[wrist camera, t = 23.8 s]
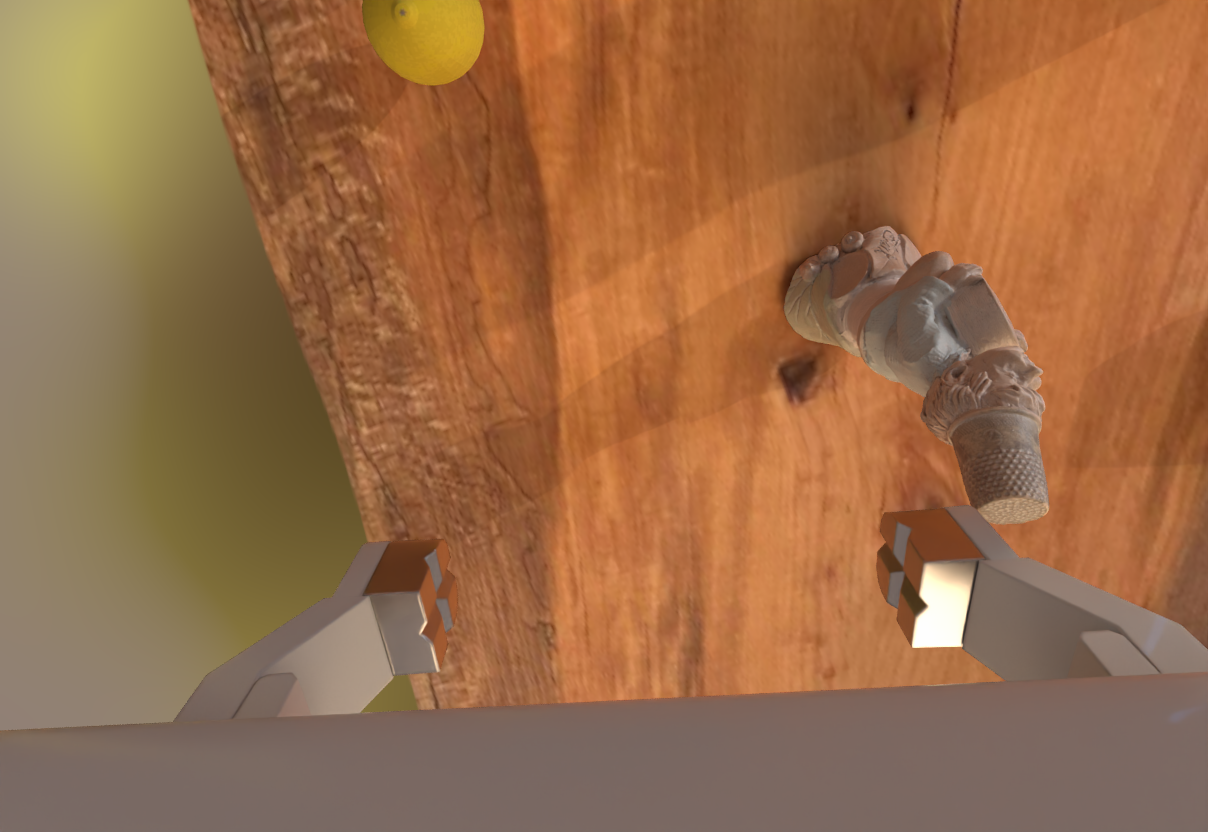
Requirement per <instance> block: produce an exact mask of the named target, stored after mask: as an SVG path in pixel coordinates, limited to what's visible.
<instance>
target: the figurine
mask: <svg viewBox="0 0 1208 832" xmlns="http://www.w3.org/2000/svg"><path fill="white" fill-rule="evenodd" d="M982 272H983V269H982V268H981V267H980V266H977V265H975V264H965V263H960V264H957V265H954V263H953V260H952V258H951V256H950V254H949V253H946V252H942V251H935V252H931V253H929V254H926V255H924V256H923V257H921V255H920V253H919V251H918V250H917V248H916V247H915V246H914V244H913V243H912V242H911V241H910V240H909V239H908V237H906V236H905V235H903V234H899V235H897V233H896V232H895V231H894V230H893V229H892V228H891V227H890V226H883V227H879V228H876V229H875V230H872V231H868V232H866V233H864V234H861V233H860V232H856V231H852V232H849V233H847V234H845V235H844V237H843V239H842V241H841V243H839V244H837V245H835V246H831V245H830V246H826V247H825V248H823V249H822V250H821V251H820V252H819V255H815V256H812V257H809V258H807V260H806V261H805V262H804V263H803V264H801V265H800V266H799V268H798V269H797V270H796V272H795V274H794V276H793V278H792V281H791V283H790V287H789V288H788V292H787V294H786V297H785V305H784V312H785V315H786V318H787V321H788V322H789V324H790V325H791V326H792V328H793V329H794V331H796V332H797V333H798V334H801V335H802V337H804V338H806V339H807V340H811V341H815V342H819V343H821V342H822V343H824V344H831V345H837V346H839V347H841V348H843V349H845V350H846V351H847V352H849V353H851V354H852V355H854V356H857V357H862V359H863V360H864V362H865V363H866V364H867V365H868V366H869V367H870V368H871V369H872V370H873V371H875V372H876V373H878V374H880V375H882V376H885V377H886V379H888V380H890V381H894V382H901V383H902V384H904V385H905V386H906V387H907V388H909V389H910V390H912V391H914V392H916V393H918V394H920V395H922V396H923V397H925V399H924V401H923V409H922V412H921V415H920V417H921V419H922V421H923V422H925V423H926V425H927V427H928V428H929V430H930V431H931V432H933V433H934V434H935V436H936V437H937V438H939V440H940V441H944V443H946V444H948V445H952V446H953V447H954V450H955V453H956V456H957V459H958V463H959V467H960V470H961V474H962V478H963V482H964V485H965V489H966V492H967V495H968V497H969V501H970V504H971V506H972V507H974V508H975V509H976V510H977V511H978V512H979V513H980V514H981V515H982V516H983V518H984V519H985V520H986V521H987V522H988V523H994V524H1003V525H1005V524H1018V523H1025V522H1027V521H1033V520H1037V519H1039V518H1041V517H1043V516H1044V515H1045V514H1046V513H1047V512H1048V510H1049V498H1048V488H1047V482H1046V478H1045V472H1044V468H1043V462H1042V458H1041V452H1040V446H1039V437H1038V434H1039V433H1040V431H1041V427H1042V424H1041V422H1042V419H1041V415H1042V413H1043V412H1044V410H1045V403H1044V401H1043V398H1042V397H1041V396H1040V395H1039V394H1038V393H1037V392H1036V390H1037V389H1038V388H1039V387H1040V386H1041V379H1040V377H1038V376H1040V375H1041V374H1042V373H1043V371H1042V369H1041V368H1038V367H1037V366H1035V365H1034V363H1033V362H1031V361H1030V360H1029V358H1028V356H1027V355H1025V354H1024V352H1026V351H1027V349H1028V345H1027V343H1026V341H1025V338H1024V335H1023V334H1022V333H1021V332H1020V331H1019V330H1016V329H1014V328H1013V325H1012V323H1011V321H1010V319H1009V318H1008V316H1007V314H1006V312H1005V310H1004V308H1003V306H1002V305H1001V303H1000V301H999V299H998V298H997V296H996V294H995V293H994V292H993V290H992V289H991V288H990V286H989V285H988V283H987V282H986V281H985V279H984V278H983V277H982V275H981V274H982Z"/></svg>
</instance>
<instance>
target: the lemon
mask: <svg viewBox="0 0 1208 832" xmlns="http://www.w3.org/2000/svg"><path fill="white" fill-rule="evenodd" d="M362 12H363V23H364V26H365V29H366V32H367V36H368V39H369V41H370V42H371V44H372V46H373V48H374V50H375V51H376V53H377V54H378V56H379V57H380V58H381V59H382V60H383V61H384V63H385V64H386V65H387V66H388V67H389V68H390V69H392V70H393V71H394V72H396V73H397V74H399V75H400V76H401V77H403V78H405V79H408V80H410V81H413V82H415V83H418V84H424V85H432V86H434V85H441V84H447V83H450V82H452V81H454V80H456V79H458V78H460V77H461V76H463V75H464V74H465V73H466V72H467V71H468V70H469V69H470V68H471V67H472V65H473V64H474V62H475V61H476V59H477V58H478V56H479V53H480V50H481V47H482V44H483V36H484V20H483V12H482V8H481V6H480V3H479V0H363V3H362Z"/></svg>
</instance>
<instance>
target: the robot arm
mask: <svg viewBox="0 0 1208 832" xmlns="http://www.w3.org/2000/svg"><path fill="white" fill-rule="evenodd" d="M880 533H881V534H882V536H883V538H884V539H885V541H886V543H885V544H884V545H883V546H882V547H881V548H880V549H879V550H878V552H877V564H876V568H877V576H878V583H879V586H880V589H881V592H882V594H883V596H884V598H885V600H886V602H887V603H889V604H890V605H892V606H894V607H895V608H897V609H898V612H897V622H898V624H899V626H900V627H901V629H902V631H903V633H904V635H905V636H906V638H907V640H908V642H909V644H910V645H911V647H952V646H962V649H964V650H965V651H966V652H968V653H969V654H970V655H972V656H973V657H974V658H976V659H977V660H978V661H980V662H981V663H982V664H984V665H985V666H987V667H988V668H989V669H991V670H992V671H993V672H995V673H996V674H997V675H999V676H1000V677H1001V678H1003V679H1004V680H1006V681H1004V682H983V683H963V684H943V685H922V686H902V687H882V688H861V689H841V690H821V691H800V692H780V693H760V694H739V695H719V696H698V697H678V698H657V699H637V700H616V701H596V702H575V703H555V704H534V705H514V706H493V707H473V708H452V709H432V710H411V711H393V712H372V713H371V712H370V713H360V712H361V711H362V710H363V709H364V708H365V707H366V706H367V705H368V704H369V703H370V702H371V701H372V699H373V698H374V697H375V696H376V695H377V694H378V693H379V692H380V691H381V690H382V689H383V688H384V687H385V686H386V685H387V684H388V683H389V682H390V681H391V680H392V679H393V676H394V675H407V674H419V673H432V672H440V669H441V666H442V663H443V660H444V656H445V653H446V650H447V647H448V641H447V636H446V632H448V631H449V630H450V629H451V628H452V627H454V624H455V620H456V617H457V609H458V589H457V583H456V578H455V576H454V575H453V574H452V573H451V572H450V571H448V570H447V567H448V564H449V561H450V558H451V556H450V552H449V549H448V545H447V542H446V541H445V540H444V539H430V540H406V541H392V542H391V541H383V542H368V543H366V544H364V545H362V546H361V548H360V550H359V551H358V553H357V555H356V556H355V558H354V560H353V562H352V563H351V565H350V567H349V569H348V571H347V572H346V574H345V576H344V577H343V579H342V581H341V583H340V585H339V586H338V588H337V589H336V591H335V593H334V595H333V596H332V598H324V599H322V600H321V601H319V602H318V603H316V604H314V605H313V606H311V607H310V608H308V609H307V610H305V611H304V612H302V613H301V614H299V615H298V616H296V617H294V618H293V619H291V620H290V621H288V622H287V623H285V624H284V625H282V626H281V627H279V628H278V629H276V630H275V631H273V632H271V633H270V634H269V635H267V636H265V637H264V638H262V639H261V640H259V641H258V642H256V643H255V644H253V645H252V646H250V647H249V648H247V649H245V650H244V651H243V652H241V653H239V654H238V655H236V656H235V657H233V658H232V659H230V660H229V661H227V662H226V663H224V664H222V665H221V666H220V667H218V668H216V669H215V670H213V671H212V672H210V673H209V674H207V675H206V676H205V678H204V679H203V680H202V682H201V683H200V685H199V686H198V687H197V689H196V690H195V692H194V693H193V694H192V696H191V697H190V698H189V700H188V701H187V703H186V704H185V705H184V707H183V708H182V710H181V711H180V713H179V714H178V715H177V717H176V718H175V720H174V721H173V722H167V723H146V724H127V725H105V726H87V727H65V728H45V729H25V730H4V731H0V832H1208V649H1206V648H1205V647H1204V646H1203V645H1202V644H1201V643H1200V642H1199V641H1198V640H1197V639H1196V638H1195V637H1194V636H1192V635H1191V634H1190V633H1189V632H1188V631H1187V630H1186V629H1185V628H1184V627H1183V626H1182V625H1180V624H1178V623H1176V622H1173V621H1171V620H1169V619H1167V618H1164V617H1162V616H1160V615H1157V614H1155V613H1153V612H1151V611H1148V610H1146V609H1144V608H1142V607H1139V606H1137V605H1135V604H1133V603H1130V602H1128V601H1126V600H1124V599H1121V598H1119V597H1117V596H1114V595H1112V594H1110V593H1108V592H1105V591H1103V590H1101V589H1099V588H1096V587H1094V586H1092V585H1090V584H1087V583H1085V582H1083V581H1081V580H1078V579H1076V578H1074V577H1071V576H1069V575H1067V574H1065V573H1062V572H1060V571H1058V570H1056V569H1053V568H1051V567H1049V566H1047V565H1044V564H1042V563H1040V562H1037V561H1035V560H1033V559H1031V558H1019V557H1018V555H1017V554H1016V553H1015V552H1014V551H1013V550H1012V549H1011V548H1010V547H1009V545H1008V544H1007V543H1006V542H1005V541H1004V540H1003V539H1002V538H1001V536H1000V535H999V534H998V533H997V532H996V531H995V530H994V529H993V528H992V526H991V525H990V524H989V523H988V522H987V521H986V520H985V519H984V518H983V516H982V515H981V514H980V513H979V512H978V511H977V510H976V509H975V508H974V507H972V506H969V505H964V506H953V507H942V508H938V509H925V510H911V511H898V512H885V513H884V514H883V517H882V519H881V525H880Z"/></svg>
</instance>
